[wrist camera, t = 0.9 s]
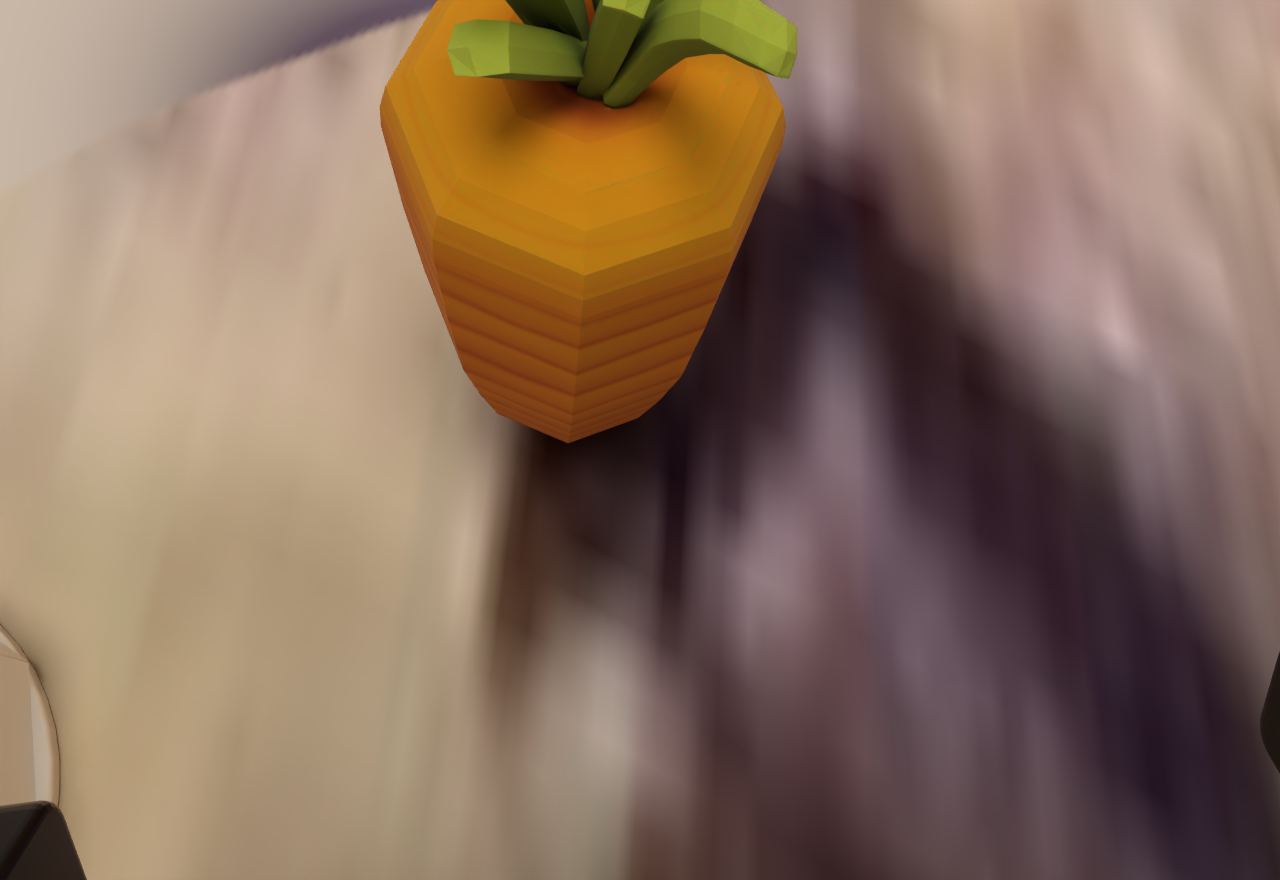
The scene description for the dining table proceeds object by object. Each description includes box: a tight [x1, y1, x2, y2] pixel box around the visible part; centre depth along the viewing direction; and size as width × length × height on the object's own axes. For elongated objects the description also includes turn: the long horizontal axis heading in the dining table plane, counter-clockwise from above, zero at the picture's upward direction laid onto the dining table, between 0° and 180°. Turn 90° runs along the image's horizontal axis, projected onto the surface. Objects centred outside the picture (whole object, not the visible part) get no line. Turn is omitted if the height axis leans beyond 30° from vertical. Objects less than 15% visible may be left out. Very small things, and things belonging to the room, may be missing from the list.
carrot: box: [380, 0, 797, 443], centre depth 16 cm, size 5×5×15 cm
